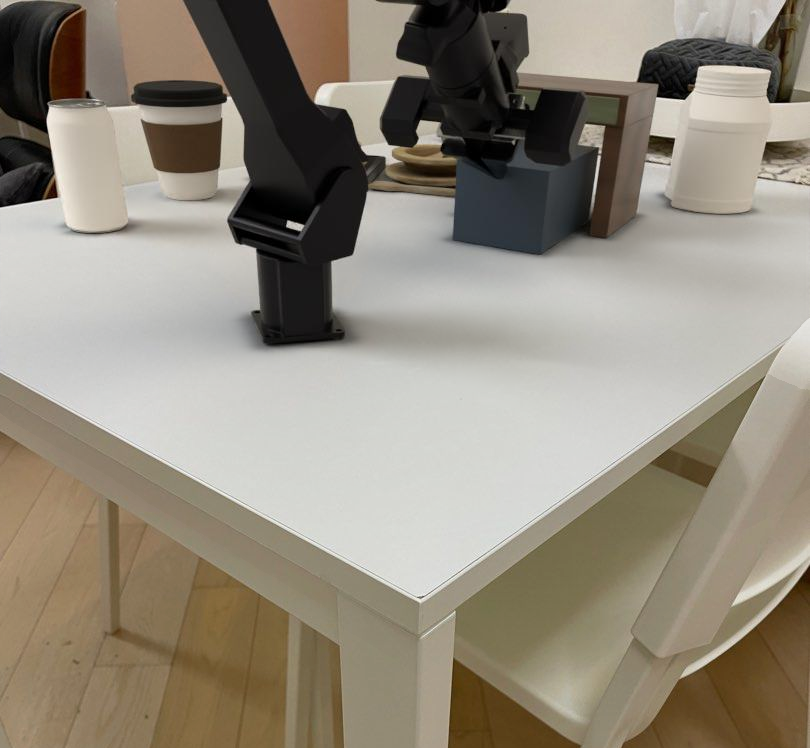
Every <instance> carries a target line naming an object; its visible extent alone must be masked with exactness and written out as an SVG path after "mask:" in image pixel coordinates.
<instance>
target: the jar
mask: <svg viewBox="0 0 810 748" xmlns="http://www.w3.org/2000/svg"><path fill="white" fill-rule="evenodd" d="M771 74H772V71H771V70H770V69H765V68H759V67H751V66H737V65H702V66H698V68H697V73H696V78H695V83H694V88H693V89H692V91H691V92H690V93H689V95H688V96H687V97H686V98H685V100H684V101H682V103H681V106H680V109H679V113H678V119H677V120H678V121H677V127H676V133H675V138H674V144H673V150H672V155H671V160H670V166H669V169H668V170H669V171H668V176H667V181H666V184H665V188H664V196H665V197H666V198H667V199H669V200H670V205H671V207H673V208H674V209H675V208H676V209H679V210H683V211H689V212H695V213H703V214H717V215H718V214H719V215H722V214H723V215H726V214H727V215H729V214H732V215H733V214H742V213H746V212H749V211H750V210H751V209H752V205H753V201H754V195H755V194H754V193H755V190H756V186H757V181H758V178H759V174H760V169H761V165H762V161H763V156H764V153H765V148H766V144H767V140H768V136H769V132H770V131H771V127H772V123H773V109H772V107H771V103H770V101H769V98H768V96H767V95H768V90H767V89H768V87H769V82H770V78H771V76H772V75H771Z"/></svg>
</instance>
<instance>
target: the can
mask: <svg viewBox="0 0 810 748" xmlns="http://www.w3.org/2000/svg"><path fill="white" fill-rule="evenodd" d="M47 106H48V112H47V116H46V127H47V133H48V137H49V143H50V148H51V149H50V150H51V153H52V154H51V155H52V159H53V165H54V171H55V175H56V181H57V184H58V191H59V196H60V200H61V206H62V211H63V216H64V221H65V224H66V226H67V228H68V227H69V229H70V230H71V231H73V232H76V233H84V234H104V233H111V232H116V231H120V230H122V229H125V228H126V227H127V224H128V223H129V216H128V207H127V202H126V194H125V187H124V181H123V173H122V168H121V161H120V154H119V153H120V152H119V147H118V142H117V141H118V140H117V135H116V128H115V122H114V119H113V117H112V114H111V113H110V111H109V109H108V108H107V101H105V100H102V99H97V98H62V99H55V100H50V101H48V102H47Z"/></svg>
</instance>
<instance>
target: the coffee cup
mask: <svg viewBox="0 0 810 748" xmlns="http://www.w3.org/2000/svg"><path fill="white" fill-rule="evenodd" d="M222 85H223V84H220V83H217V82H214V81H213V82H212V81H206V80H192V79H191V80H190V79H189V80H188V79H170V80H168V79H167V80H166V79H165V80H152V81H143V82H139V83H136V84H135V85H134V86H133V87H132V88H133V93H132V94H131V95H130V101H131V102H132V103H133V104H136V105H137V106H138V110H139V114H140V123H141V126H142V129H143V133H144V137H145V141H146V144H147V147H148V151H149V155H150V158H151V162H152V166H153V168H154V169H155V170H156V174H157V178H158V181H159V185H160V189H161V191H162V192H163V194H164V196H165V197H166V198H168V199H171V200H176V201H177V200H178V201H199V200H201V201H202V200H206V199H211V198H213V197H215V196H216V193H217V190H218V187H219V169H220V168H221V157H222V141H223V140H222V138H223V117H222V112H223V111H222V110H223V104H225V103H227V101H228V94H227V93H224V87H223V86H222Z"/></svg>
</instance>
